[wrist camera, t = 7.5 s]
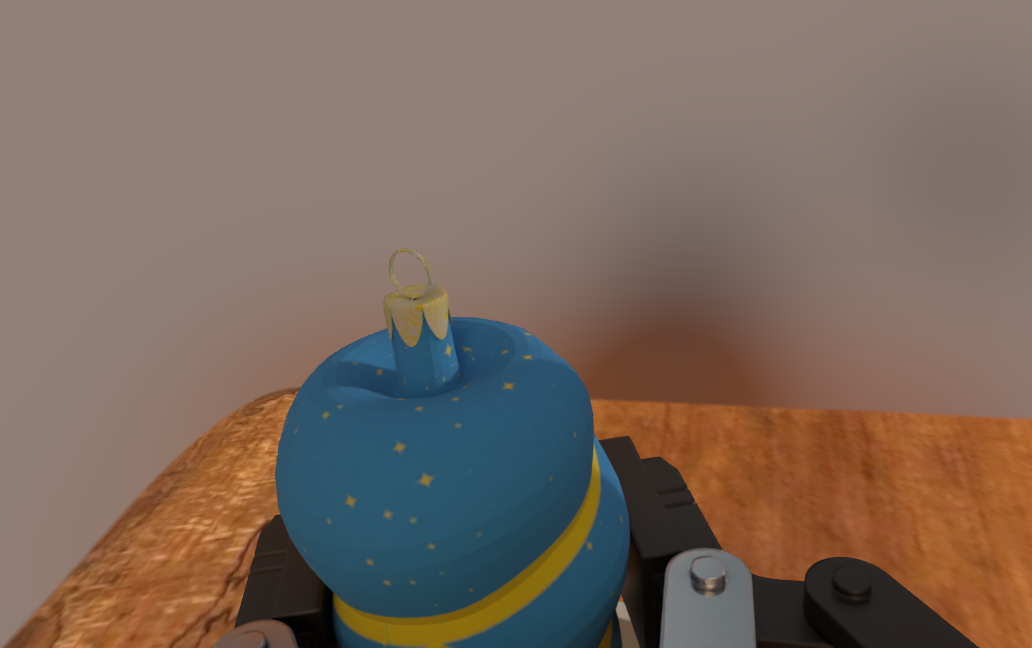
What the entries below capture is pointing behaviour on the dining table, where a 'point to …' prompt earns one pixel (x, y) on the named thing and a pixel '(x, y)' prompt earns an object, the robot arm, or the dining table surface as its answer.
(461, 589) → the ornament
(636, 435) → the dining table surface
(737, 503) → the dining table surface
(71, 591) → the dining table surface
